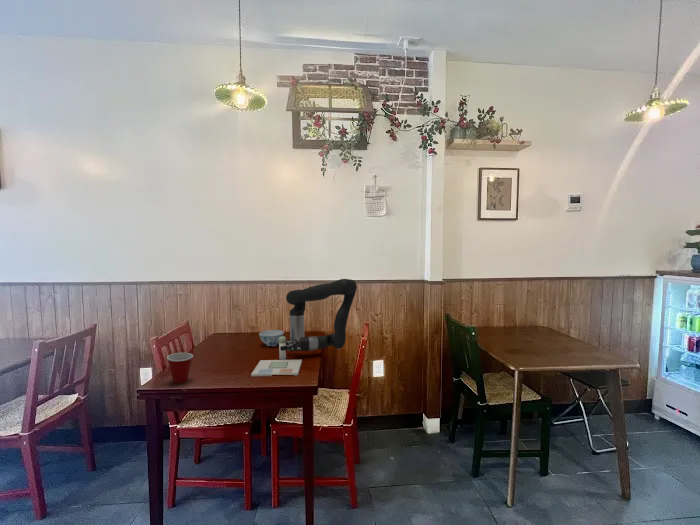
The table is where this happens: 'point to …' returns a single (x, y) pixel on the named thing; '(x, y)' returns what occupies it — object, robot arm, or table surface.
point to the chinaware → (271, 337)
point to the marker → (281, 343)
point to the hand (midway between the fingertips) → (279, 346)
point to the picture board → (277, 367)
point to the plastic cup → (179, 366)
